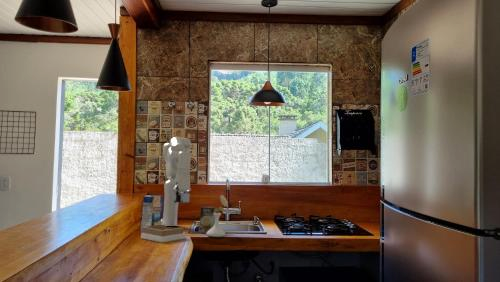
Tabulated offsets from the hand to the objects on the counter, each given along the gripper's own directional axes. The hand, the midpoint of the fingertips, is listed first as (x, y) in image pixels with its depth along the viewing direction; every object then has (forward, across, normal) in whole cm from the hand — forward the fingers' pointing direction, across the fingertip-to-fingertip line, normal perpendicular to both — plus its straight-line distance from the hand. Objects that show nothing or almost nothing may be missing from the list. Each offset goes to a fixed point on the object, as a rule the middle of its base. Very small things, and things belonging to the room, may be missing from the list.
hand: (181, 201), depth 211 cm
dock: (+20, +16, +3) cm, 25 cm away
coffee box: (+20, -18, +6) cm, 28 cm away
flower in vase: (+20, -12, +19) cm, 30 cm away
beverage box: (+20, +9, -14) cm, 26 cm away
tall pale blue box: (+1, 0, 0) cm, 1 cm away
